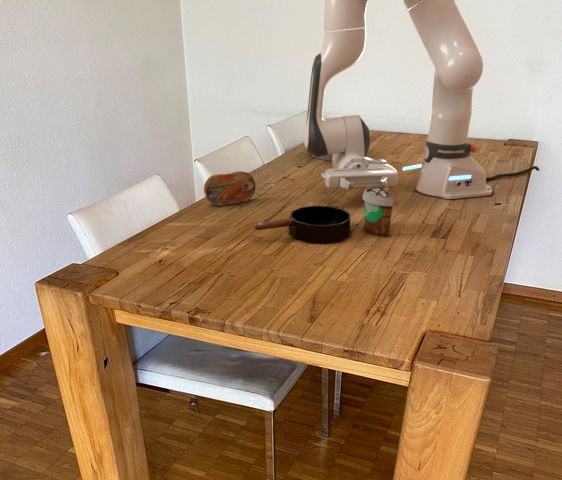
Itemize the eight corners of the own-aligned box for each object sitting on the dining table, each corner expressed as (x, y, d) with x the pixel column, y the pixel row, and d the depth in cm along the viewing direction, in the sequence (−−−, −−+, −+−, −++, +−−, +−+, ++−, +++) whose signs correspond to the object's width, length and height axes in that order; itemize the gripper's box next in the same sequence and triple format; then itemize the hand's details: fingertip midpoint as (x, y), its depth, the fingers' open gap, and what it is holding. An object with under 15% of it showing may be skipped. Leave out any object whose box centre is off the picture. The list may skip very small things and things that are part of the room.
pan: (332, 219, 155) (333, 202, 152) (360, 238, 143) (361, 220, 141) (244, 232, 147) (243, 213, 144) (265, 253, 135) (265, 233, 133)
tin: (207, 208, 163) (205, 177, 158) (203, 204, 165) (201, 174, 160) (256, 200, 168) (255, 170, 164) (251, 197, 171) (251, 168, 166)
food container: (355, 222, 153) (358, 183, 148) (378, 221, 154) (382, 183, 148) (365, 239, 143) (368, 198, 138) (389, 238, 144) (394, 197, 138)
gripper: (320, 161, 164) (329, 175, 152) (390, 159, 166) (405, 172, 155) (319, 184, 167) (328, 199, 156) (388, 182, 169) (402, 196, 158)
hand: (367, 185), depth 155 cm, fingers open, 8 cm apart
